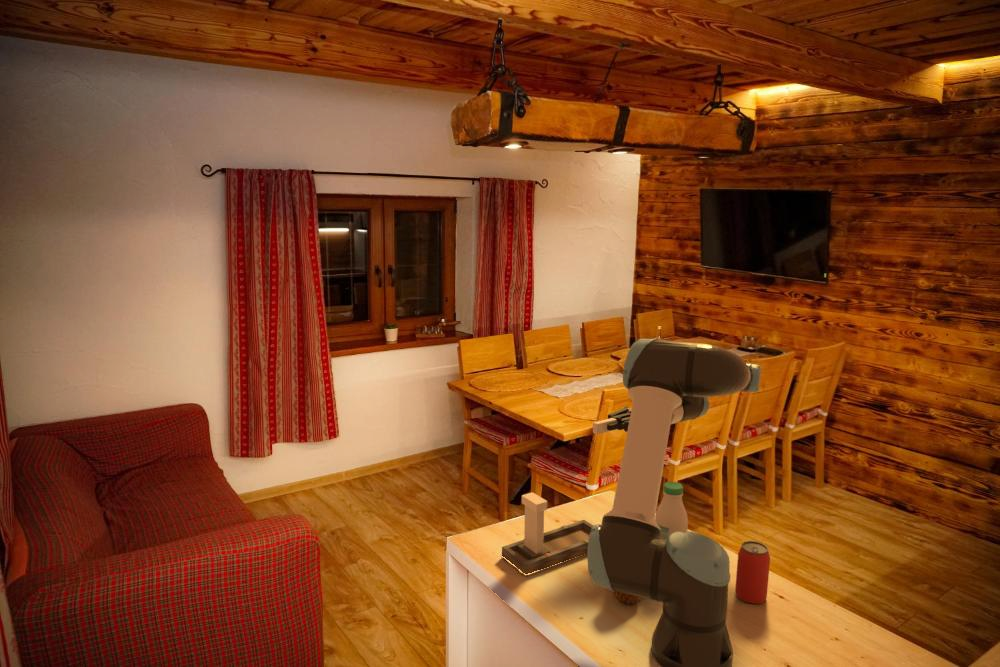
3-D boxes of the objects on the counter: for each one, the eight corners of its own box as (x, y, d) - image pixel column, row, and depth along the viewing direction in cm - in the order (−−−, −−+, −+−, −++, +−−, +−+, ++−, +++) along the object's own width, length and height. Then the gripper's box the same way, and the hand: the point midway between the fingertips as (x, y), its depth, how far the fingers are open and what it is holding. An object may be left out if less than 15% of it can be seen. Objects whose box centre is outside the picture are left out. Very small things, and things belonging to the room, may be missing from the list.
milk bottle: (682, 554, 169) (687, 479, 165) (687, 571, 162) (692, 492, 158) (650, 553, 170) (654, 477, 166) (654, 569, 162) (658, 491, 158)
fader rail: (583, 529, 181) (583, 518, 181) (609, 545, 173) (609, 534, 173) (501, 558, 167) (501, 546, 167) (525, 576, 159) (525, 564, 159)
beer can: (735, 602, 150) (739, 552, 147) (734, 586, 156) (738, 537, 153) (767, 607, 148) (772, 556, 145) (765, 591, 154) (769, 542, 151)
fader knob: (533, 545, 170) (534, 490, 167) (550, 556, 165) (551, 500, 162) (517, 551, 168) (517, 495, 165) (533, 562, 162) (534, 506, 159)
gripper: (679, 432, 179) (612, 450, 166) (643, 419, 190) (577, 435, 177) (681, 405, 177) (613, 421, 165) (644, 392, 188) (578, 407, 175)
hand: (595, 428), depth 171 cm, fingers closed
